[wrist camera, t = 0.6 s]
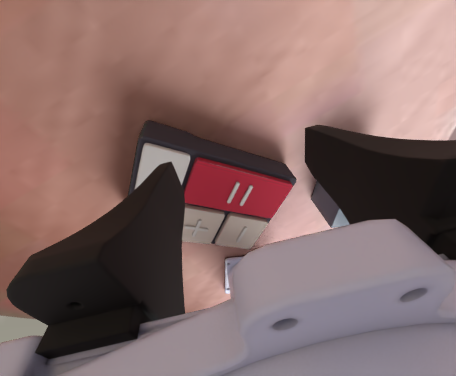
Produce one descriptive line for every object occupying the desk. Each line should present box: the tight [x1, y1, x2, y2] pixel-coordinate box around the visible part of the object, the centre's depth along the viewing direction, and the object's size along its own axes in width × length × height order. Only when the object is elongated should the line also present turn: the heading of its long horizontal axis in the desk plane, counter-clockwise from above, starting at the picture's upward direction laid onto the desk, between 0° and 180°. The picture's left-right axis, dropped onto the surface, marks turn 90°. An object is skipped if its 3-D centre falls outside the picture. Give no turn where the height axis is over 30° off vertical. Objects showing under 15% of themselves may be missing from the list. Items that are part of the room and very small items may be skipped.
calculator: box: [128, 121, 296, 249], centre depth 22 cm, size 11×4×15 cm
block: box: [311, 181, 350, 228], centre depth 24 cm, size 6×5×5 cm
